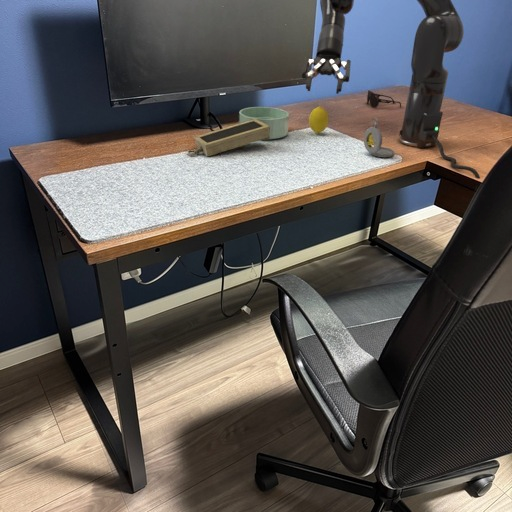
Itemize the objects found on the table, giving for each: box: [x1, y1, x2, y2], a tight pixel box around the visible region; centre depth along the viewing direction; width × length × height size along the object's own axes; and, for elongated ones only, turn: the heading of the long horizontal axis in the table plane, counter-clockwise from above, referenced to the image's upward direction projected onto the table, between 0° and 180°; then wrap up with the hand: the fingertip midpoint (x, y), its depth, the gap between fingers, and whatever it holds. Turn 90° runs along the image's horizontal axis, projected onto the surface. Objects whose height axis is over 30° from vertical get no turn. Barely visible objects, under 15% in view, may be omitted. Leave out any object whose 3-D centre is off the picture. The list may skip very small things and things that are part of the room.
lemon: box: [308, 105, 329, 135], centre depth 142 cm, size 6×6×8 cm
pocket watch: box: [363, 117, 395, 158], centre depth 127 cm, size 8×8×10 cm
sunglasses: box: [366, 90, 402, 109], centre depth 178 cm, size 10×12×5 cm
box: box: [187, 119, 270, 157], centre depth 128 cm, size 8×22×5 cm, turn 119°
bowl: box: [238, 106, 290, 141], centre depth 141 cm, size 14×14×6 cm
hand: (323, 90), depth 145 cm, fingers open, 8 cm apart
